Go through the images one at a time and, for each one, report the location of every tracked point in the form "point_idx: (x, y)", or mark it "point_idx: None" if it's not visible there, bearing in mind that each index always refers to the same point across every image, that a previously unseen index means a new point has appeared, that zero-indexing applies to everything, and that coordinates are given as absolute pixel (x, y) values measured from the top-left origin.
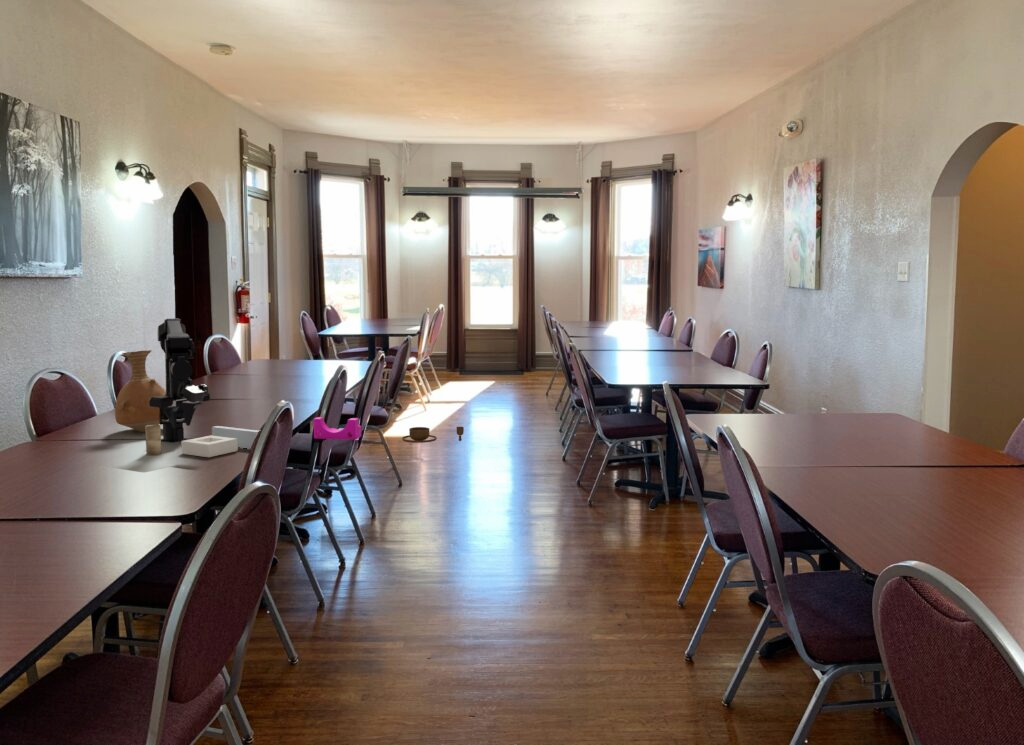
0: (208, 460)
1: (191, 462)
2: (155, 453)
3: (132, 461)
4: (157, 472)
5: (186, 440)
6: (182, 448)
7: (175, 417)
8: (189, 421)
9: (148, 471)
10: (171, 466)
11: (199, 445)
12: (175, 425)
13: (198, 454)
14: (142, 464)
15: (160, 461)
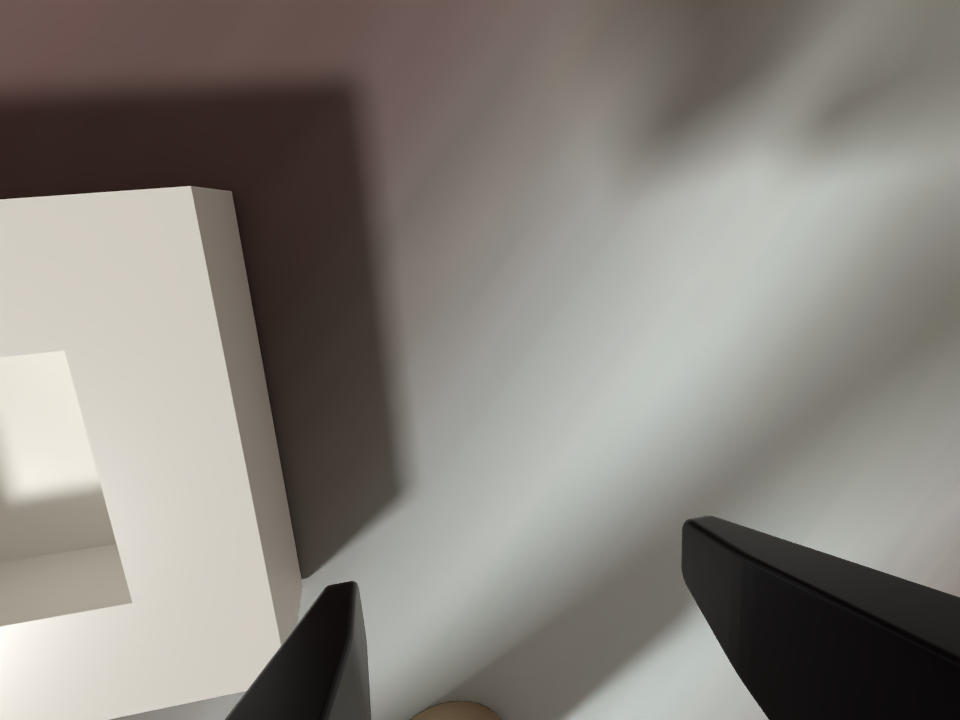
0: (325, 70)
1: (503, 147)
2: (475, 713)
3: None
4: (949, 33)
5: (216, 680)
6: (295, 608)
7: (936, 619)
8: (345, 625)
9: (945, 144)
10: (725, 153)
11: (233, 368)
12: (738, 533)
13: (258, 362)
14: (774, 439)
15: (625, 434)
